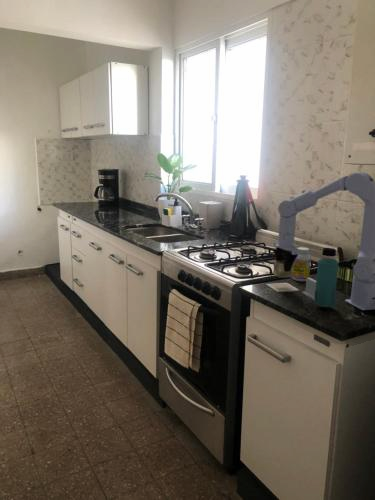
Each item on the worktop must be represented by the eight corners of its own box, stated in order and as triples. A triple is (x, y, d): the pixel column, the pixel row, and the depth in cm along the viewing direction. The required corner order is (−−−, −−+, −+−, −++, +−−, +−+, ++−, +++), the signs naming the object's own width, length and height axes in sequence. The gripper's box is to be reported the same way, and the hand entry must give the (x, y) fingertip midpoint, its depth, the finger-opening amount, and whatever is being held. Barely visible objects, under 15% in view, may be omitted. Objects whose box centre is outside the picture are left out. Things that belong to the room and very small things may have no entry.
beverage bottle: (338, 310, 135) (345, 250, 131) (320, 312, 133) (326, 251, 129) (326, 304, 141) (332, 246, 137) (309, 305, 139) (314, 246, 135)
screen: (321, 300, 145) (323, 283, 144) (314, 300, 144) (316, 283, 143) (309, 293, 153) (310, 277, 151) (302, 293, 152) (304, 277, 150)
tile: (299, 290, 155) (299, 289, 155) (277, 292, 152) (277, 290, 152) (286, 283, 163) (287, 282, 163) (265, 284, 161) (266, 283, 161)
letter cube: (291, 276, 155) (293, 263, 154) (279, 277, 154) (280, 263, 153) (285, 273, 160) (286, 260, 159) (273, 274, 158) (274, 260, 157)
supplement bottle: (288, 279, 170) (291, 248, 167) (297, 276, 174) (300, 246, 172) (302, 282, 165) (305, 251, 162) (312, 280, 170) (315, 249, 167)
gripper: (267, 230, 159) (265, 264, 162) (286, 237, 145) (283, 275, 148) (284, 229, 161) (281, 264, 164) (304, 236, 147) (301, 274, 150)
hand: (283, 269), depth 156 cm, fingers closed on letter cube, 5 cm apart
